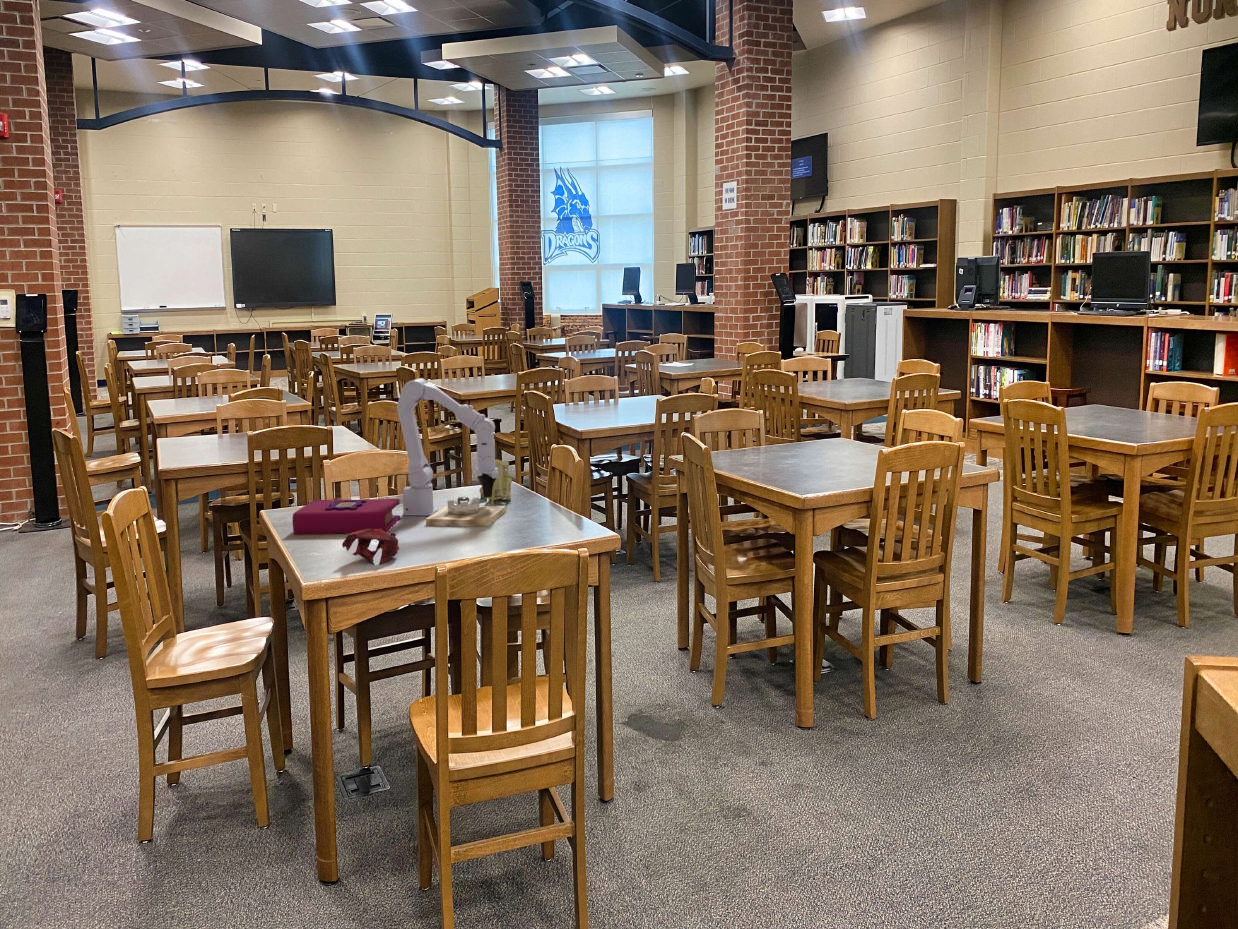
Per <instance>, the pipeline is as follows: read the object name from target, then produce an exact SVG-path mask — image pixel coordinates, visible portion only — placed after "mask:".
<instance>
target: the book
mask: <svg viewBox="0 0 1238 929" xmlns="http://www.w3.org/2000/svg"><path fill="white" fill-rule="evenodd" d="M400 503H401V502H400V498H379V499H378V498H377V499H376V498H375V499H373V498H371V499H370V498H368V499H364V498H363V499H362V498H361V499H359V498H358V499H313V500H311V501H309V502H308V503H306V504H305V505H304V506H303V507H301V508H299V509H298V510H296V511H294V512H293V514H292V518H291V519H292V531H293V534H294V535H329V534H328V533H352V532H356V531H360V530H365V529H382V530H383V531H385V532H387V531H388V532H389V531H390V530H391V529H392V528H393V527H394V526H395V525H396V524H397V523H398V522H399V521H400V520H401V519H402V518H401V515H397V514H394V515H393V510H394V509H395V508H396V507H397V506H399V505H400ZM398 520H399V521H398ZM397 521H398V522H397ZM396 522H397V523H396ZM394 524H395V525H394ZM393 525H394V526H393ZM391 527H392V528H391ZM389 529H390V530H389ZM388 532H387V533H388Z"/></svg>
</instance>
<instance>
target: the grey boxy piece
mask: <svg viewBox="0 0 1238 929" xmlns="http://www.w3.org/2000/svg"><path fill="white" fill-rule="evenodd" d="M479 494H480V497H472V499H470V498H469V497H468V496H466V495H459V496H458V497H457V499H456V500H455V499H454V498H447V499H446V500H447V502H446V504H447V505H448V514H451V515H471V514H476V513H478V512H479V505H480V504H483V503H486V502H488V498H487V497H484V494H483V488H482V486H481V487H480V488H479Z"/></svg>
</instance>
